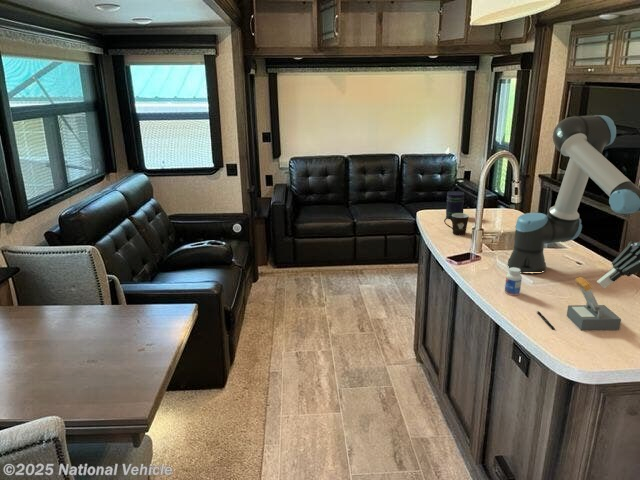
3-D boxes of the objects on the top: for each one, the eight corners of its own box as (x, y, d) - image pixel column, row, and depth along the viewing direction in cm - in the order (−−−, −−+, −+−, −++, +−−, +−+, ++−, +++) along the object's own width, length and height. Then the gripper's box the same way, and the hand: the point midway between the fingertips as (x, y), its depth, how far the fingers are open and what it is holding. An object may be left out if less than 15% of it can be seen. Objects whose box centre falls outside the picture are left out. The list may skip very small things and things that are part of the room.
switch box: (602, 315, 160) (605, 298, 158) (619, 330, 150) (622, 312, 148) (566, 315, 160) (569, 298, 158) (580, 330, 151) (583, 312, 149)
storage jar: (446, 219, 274) (447, 194, 269) (444, 215, 283) (446, 191, 278) (464, 220, 272) (465, 195, 267) (461, 215, 281) (463, 191, 276)
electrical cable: (535, 313, 164) (536, 310, 163) (538, 312, 164) (539, 310, 163) (551, 330, 152) (552, 327, 152) (555, 330, 152) (555, 327, 152)
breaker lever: (594, 304, 156) (580, 276, 153) (603, 312, 151) (589, 283, 148) (588, 307, 157) (574, 279, 154) (597, 315, 151) (583, 286, 148)
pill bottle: (501, 291, 180) (503, 268, 177) (512, 288, 182) (514, 265, 179) (512, 297, 175) (514, 273, 172) (523, 294, 177) (525, 270, 174)
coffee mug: (469, 232, 250) (470, 214, 247) (464, 237, 243) (466, 218, 240) (448, 229, 256) (449, 211, 253) (442, 233, 249) (443, 215, 246)
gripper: (686, 249, 139) (618, 301, 145) (658, 236, 151) (597, 284, 158) (671, 233, 137) (603, 285, 144) (644, 220, 150) (583, 269, 156)
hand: (600, 284), depth 151 cm, fingers closed
